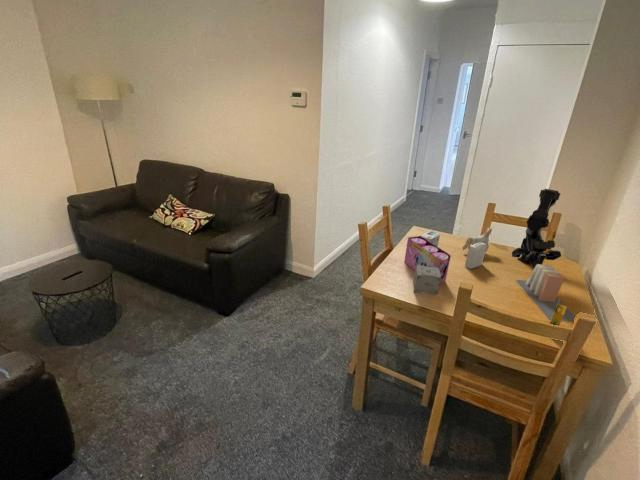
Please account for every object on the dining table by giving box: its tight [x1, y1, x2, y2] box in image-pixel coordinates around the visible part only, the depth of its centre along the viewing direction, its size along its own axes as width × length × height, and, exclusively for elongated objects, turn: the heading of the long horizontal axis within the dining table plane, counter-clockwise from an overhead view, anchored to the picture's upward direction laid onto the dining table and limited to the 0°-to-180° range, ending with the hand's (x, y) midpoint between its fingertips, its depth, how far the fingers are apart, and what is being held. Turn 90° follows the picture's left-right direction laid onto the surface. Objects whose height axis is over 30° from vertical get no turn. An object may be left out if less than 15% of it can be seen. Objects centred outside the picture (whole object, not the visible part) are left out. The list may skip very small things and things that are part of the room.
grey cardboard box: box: [412, 265, 441, 295], centre depth 144 cm, size 10×8×10 cm
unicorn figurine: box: [462, 224, 493, 254], centre depth 181 cm, size 7×20×13 cm, turn 122°
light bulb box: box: [419, 230, 441, 248], centre depth 178 cm, size 11×7×11 cm, turn 135°
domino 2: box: [530, 266, 556, 291], centre depth 147 cm, size 2×6×12 cm, turn 85°
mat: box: [515, 279, 576, 323], centre depth 143 cm, size 30×12×1 cm, turn 175°
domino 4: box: [538, 274, 565, 302], centre depth 140 cm, size 2×6×12 cm, turn 85°
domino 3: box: [534, 269, 560, 296], centre depth 143 cm, size 2×6×12 cm, turn 85°
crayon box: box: [548, 299, 568, 327], centre depth 122 cm, size 7×3×12 cm, turn 138°
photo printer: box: [464, 243, 487, 270], centre depth 167 cm, size 10×4×12 cm, turn 123°
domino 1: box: [526, 264, 553, 286], centre depth 149 cm, size 2×6×12 cm, turn 85°
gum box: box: [403, 235, 452, 284], centre depth 158 cm, size 24×8×14 cm, turn 21°
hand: (538, 272), depth 149 cm, fingers closed
